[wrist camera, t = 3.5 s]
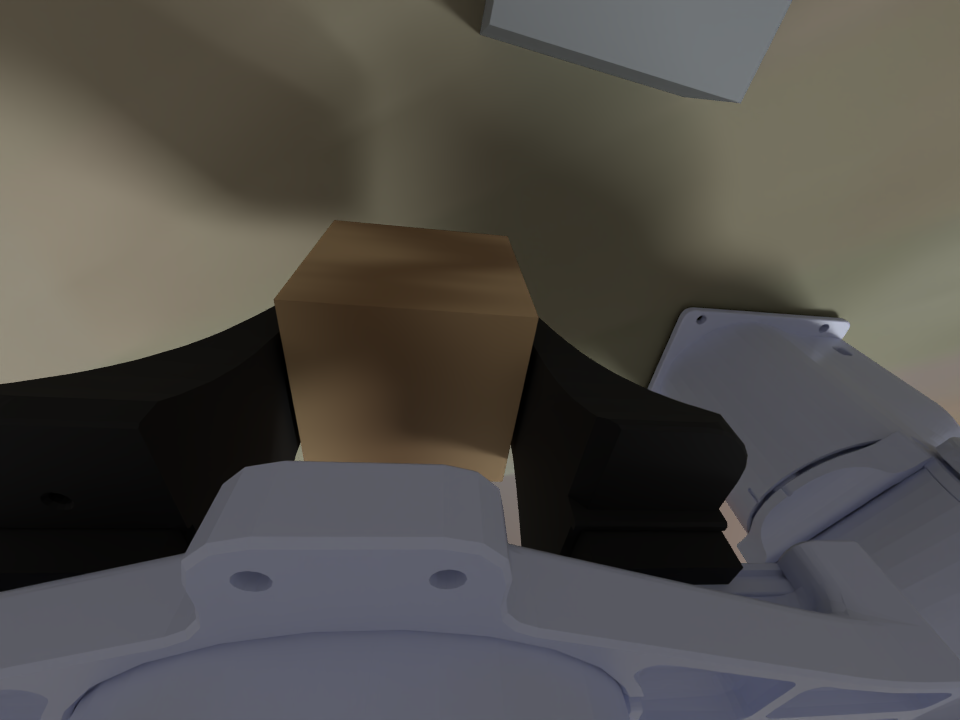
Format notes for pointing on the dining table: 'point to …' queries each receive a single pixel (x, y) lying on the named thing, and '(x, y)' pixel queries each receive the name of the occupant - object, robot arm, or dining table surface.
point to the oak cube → (407, 346)
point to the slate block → (648, 39)
